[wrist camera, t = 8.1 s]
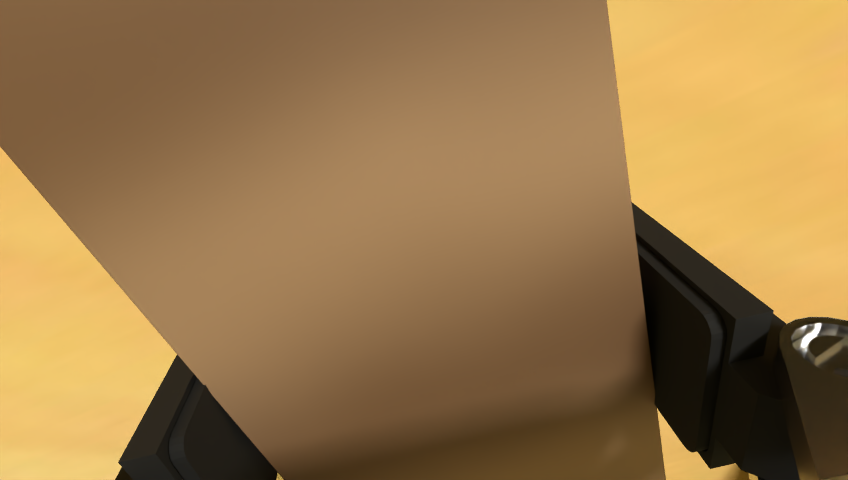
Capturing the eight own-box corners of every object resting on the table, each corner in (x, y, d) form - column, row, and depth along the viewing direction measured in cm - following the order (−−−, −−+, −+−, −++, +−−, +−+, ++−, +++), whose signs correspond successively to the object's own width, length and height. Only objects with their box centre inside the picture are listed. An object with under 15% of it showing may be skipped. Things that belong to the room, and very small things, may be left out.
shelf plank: (81, -22, 8) (-160, -41, 4) (467, -185, 7) (560, -357, 4) (405, 490, 15) (417, 635, 12) (602, 425, 15) (675, 557, 11)
